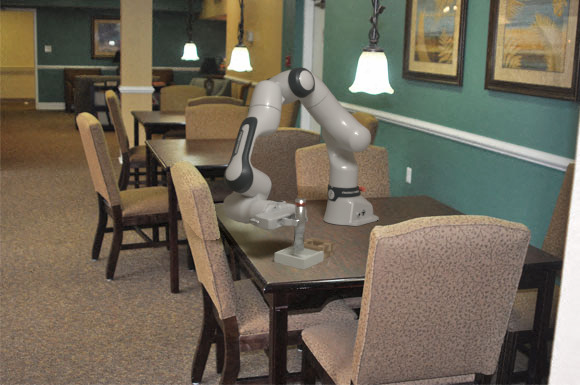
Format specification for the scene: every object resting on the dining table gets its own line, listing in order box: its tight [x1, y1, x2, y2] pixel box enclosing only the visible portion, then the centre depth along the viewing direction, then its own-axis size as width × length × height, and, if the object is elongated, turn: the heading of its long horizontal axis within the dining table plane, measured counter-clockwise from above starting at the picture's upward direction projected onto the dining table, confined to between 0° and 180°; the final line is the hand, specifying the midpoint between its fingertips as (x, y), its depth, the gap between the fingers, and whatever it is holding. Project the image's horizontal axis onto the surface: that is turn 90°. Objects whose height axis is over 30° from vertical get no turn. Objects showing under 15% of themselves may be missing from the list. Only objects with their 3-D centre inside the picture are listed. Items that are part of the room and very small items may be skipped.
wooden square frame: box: [304, 237, 335, 260], centre depth 212 cm, size 9×9×4 cm
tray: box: [273, 244, 324, 271], centre depth 205 cm, size 11×11×3 cm
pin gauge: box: [293, 197, 307, 251], centre depth 203 cm, size 3×3×16 cm
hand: (302, 221), depth 202 cm, fingers closed on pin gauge, 3 cm apart
